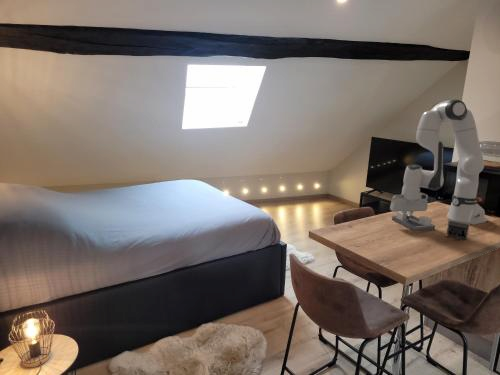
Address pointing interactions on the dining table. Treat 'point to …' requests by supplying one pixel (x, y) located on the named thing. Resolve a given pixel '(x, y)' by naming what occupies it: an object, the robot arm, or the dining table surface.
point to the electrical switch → (457, 229)
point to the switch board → (413, 224)
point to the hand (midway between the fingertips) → (406, 218)
